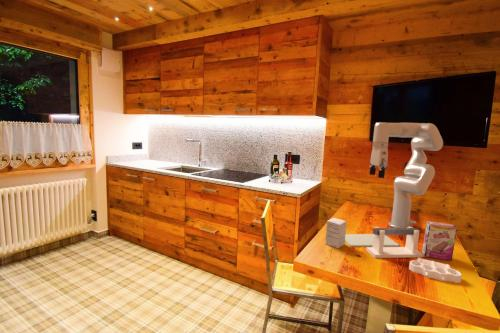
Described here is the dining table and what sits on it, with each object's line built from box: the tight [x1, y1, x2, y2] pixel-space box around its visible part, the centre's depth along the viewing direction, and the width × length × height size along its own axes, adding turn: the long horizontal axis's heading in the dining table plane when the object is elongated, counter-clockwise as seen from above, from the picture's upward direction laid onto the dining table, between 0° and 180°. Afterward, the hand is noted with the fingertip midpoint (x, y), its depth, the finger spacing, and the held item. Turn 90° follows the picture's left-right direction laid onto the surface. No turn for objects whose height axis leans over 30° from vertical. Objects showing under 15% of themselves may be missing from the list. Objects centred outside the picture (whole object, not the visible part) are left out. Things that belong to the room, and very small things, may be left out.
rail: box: [372, 227, 421, 236], centre depth 129 cm, size 22×2×2 cm, turn 95°
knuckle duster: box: [408, 257, 463, 284], centre depth 114 cm, size 3×18×15 cm
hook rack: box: [365, 226, 424, 259], centre depth 130 cm, size 24×8×12 cm, turn 95°
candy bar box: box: [421, 220, 458, 262], centre depth 127 cm, size 11×5×16 cm, turn 71°
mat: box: [345, 233, 400, 248], centre depth 145 cm, size 26×14×1 cm, turn 95°
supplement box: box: [325, 217, 347, 249], centre depth 138 cm, size 7×7×13 cm
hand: (376, 176), depth 150 cm, fingers open, 9 cm apart
